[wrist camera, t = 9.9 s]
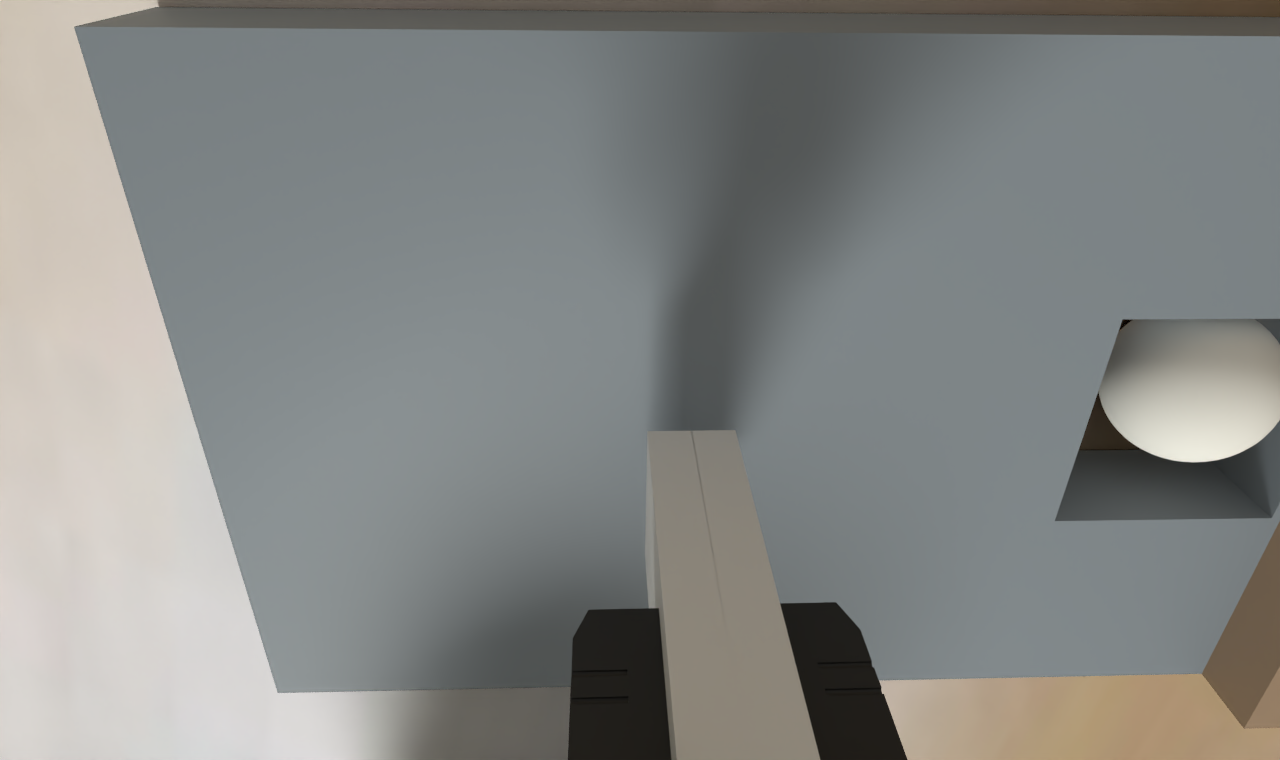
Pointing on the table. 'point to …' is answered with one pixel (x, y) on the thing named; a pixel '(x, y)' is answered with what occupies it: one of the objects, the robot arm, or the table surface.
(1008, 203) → the deck
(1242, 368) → the ball
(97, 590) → the table surface
